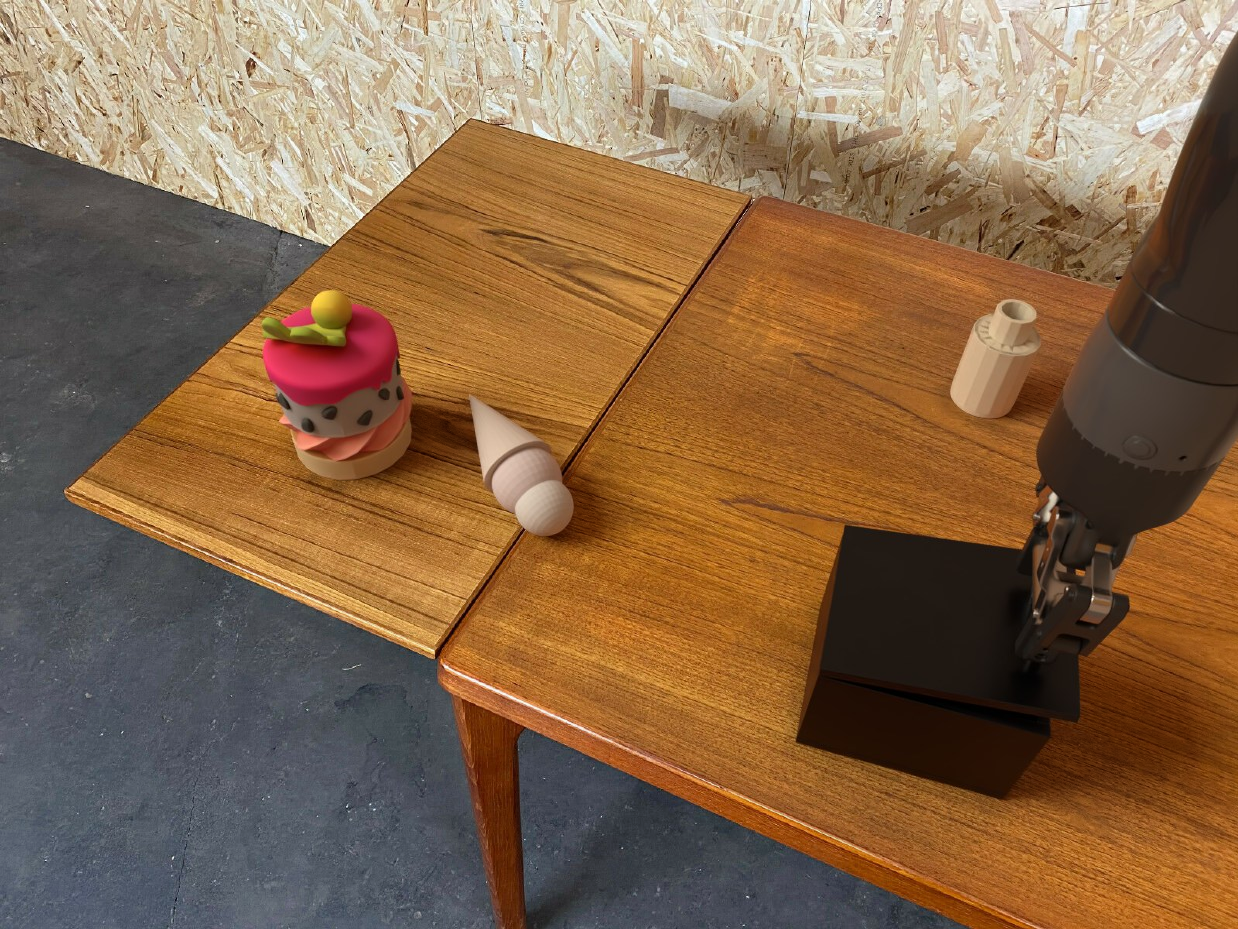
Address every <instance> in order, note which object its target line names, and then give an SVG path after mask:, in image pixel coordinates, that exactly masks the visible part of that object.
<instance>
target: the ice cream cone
mask: <svg viewBox="0 0 1238 929" xmlns="http://www.w3.org/2000/svg"><path fill="white" fill-rule="evenodd" d="M468 398H469V403H470V409H471V415H472V422H473V427H474V432H475V439H476V443H477V444H476V446H477V450H478V457H479V461H480V462H479V463H480V469H481V473H482V479H483V480H482V481H483V486H484V488H485V489H486V490H487V491H488V492H491V493H493V495H494V497H495V499H496V501H497V502H498V503H499V504H500V506H501V507H502V508H504V509H505V510H506V511H508V512H510V513H512V514H514V515H515V516H516V519H517V520H518V523H519V524H520V525H521V527H522V528H523V529H524V530H525V531H527V532H528V533H531V534H532V535H535V536H540V537H549V536H554V535H556V534H559V533H560V532H562V531H563V530H564V529H565V528H566V527H567V526H568V525H569V523H570V522H571V520H572V517H573V516H574V515H573V514H574V510H575V509H574V508H575V506H574V500H573V496H572V494H571V492H570V490H569V489H568V488H567V486H566V485H565V484H563V474H562V470H561V467H560V465H559V463H558V462H557V460H556V459H555V458H554V456H553V455H552V449H551V446H550V445H549V443H547V442H545V441H544V440H543V439H541V438H539V437H538V436H536V435H535V434H534V433H532V432H530V431H529V430H527V429H526V428H524V427H522V425H521V426H520V425H519V424H518V423H516V422H514V421H513V420H511V419H510V418H508V417H506V416H505V415H503V414H502V413H501V412H499V411H497V410H495V409H494V408H492V407H491V406H490V405H488V404H486V403H485V402H483V401H481V400H480V399H478V398H477V397H475V396H473V395H472V394H470V393H468Z"/></svg>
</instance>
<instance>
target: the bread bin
mask: <svg viewBox="0 0 1238 929" xmlns="http://www.w3.org/2000/svg"><path fill="white" fill-rule="evenodd" d="M842 538H843V534H842V535H841V538H840V541H839V545H838V547H837V551H836V554H835V556H834V557H835V558H834V560H833V564H832V566H831V570H830V574H829V577H828V580H827V583H826V586H825V590H824V593H823V596H822V599H821V601H820V606H819V612H818V616H817V622H816V627H815V633H814V638H813V639H814V640H813V643H812V649H811V655H810V660H809V664H808V671H807V675H806V676H807V677H806V682H805V686H804V693H803V698H802V702H801V703H802V704H801V710H800V715H799V719H798V724H797V730H796V735H795V743H796V744H800V745H804V746H807V747H811V748H815V749H818V750H822V751H826V752H829V753H832V754H836V755H840V756H843V757H847V758H850V759H853V760H854V759H855V760H858V761H862V762H865V763H869V764H872V765H876V766H879V767H883V768H886V769H890V770H893V771H897V772H900V773H905V774H908V775H912V776H915V777H919V778H923V779H926V780H930V781H933V782H937V783H940V784H945V785H947V786H952V787H955V788H959V789H962V790H965V791H969V792H973V793H977V794H980V795H983V796H987V797H991V798H994V799H998V800H1004V799H1005V798H1006V796H1007V795H1008V794H1009V793H1010V792H1011V791H1012V789H1013V788H1014V786H1015V785H1016V784H1017V783H1018V781H1019V780H1020V778H1021V777H1022V776H1023V775H1024V774H1025V772H1026V771H1027V769H1029V768H1030V766H1031V765H1032V763H1033V762H1034V761H1035V759H1036V758H1037V756H1038V755H1039V754H1040V753H1041V752H1042V750H1043V749H1044V747H1045V746H1046V745H1047V743H1048V742H1049V741H1050V739H1051V738H1052V726H1051V718H1046V717H1041V716H1036V715H1030V714H1025V713H1019V712H1014V711H1009V710H1003V709H998V708H992V707H987V706H981V705H976V704H971V703H965V702H960V701H954V700H949V699H944V698H938V697H933V696H927V695H922V694H916V693H911V692H906V691H900V690H895V689H889V688H884V687H878V686H873V685H868V684H862V683H857V682H851V681H846V680H841V679H835V678H830V677H824V676H820V675H819V670H820V663H821V657H822V652H823V646H824V640H825V635H826V629H827V623H828V617H829V612H830V606H831V600H832V595H833V589H834V583H835V578H836V572H837V566H838V560H839V555H840V549H841V543H842Z"/></svg>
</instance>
